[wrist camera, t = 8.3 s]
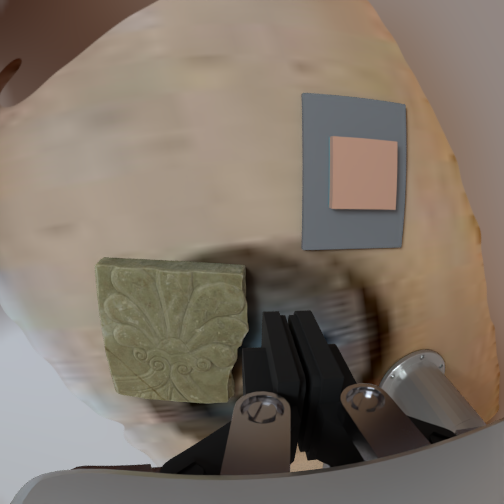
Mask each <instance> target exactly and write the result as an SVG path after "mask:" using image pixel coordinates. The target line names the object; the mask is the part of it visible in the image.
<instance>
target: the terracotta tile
mask: <svg viewBox="0 0 504 504" xmlns="http://www.w3.org/2000/svg"><path fill="white" fill-rule="evenodd" d="M396 192H397V142H396V141H386V140H376V139H365V138H353V137H339V136H331V137H329V204H328V207H329V208H331V209H383V210H396Z"/></svg>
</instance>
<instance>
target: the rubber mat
mask: <svg viewBox="0 0 504 504" xmlns="http://www.w3.org/2000/svg"><path fill="white" fill-rule="evenodd" d="M331 136H339V137H353V138H365V139H376V140H386V141H396V142H397V192H396V210H383V209H331V208H329V207H328V204H329V137H331ZM302 140H303V198H302V250H325V249H360V248H395V247H401V244H402V233H403V221H404V207H405V188H406V109H405V104H399V103H393V102H387V101H380V100H373V99H365V98H357V97H348V96H338V95H326V94H312V93H302Z"/></svg>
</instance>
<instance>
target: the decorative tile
mask: <svg viewBox="0 0 504 504" xmlns="http://www.w3.org/2000/svg"><path fill="white" fill-rule="evenodd" d="M245 276H246V270H245V266H244V265H235V264H220V263H204V262H188V261H166V260H147V259H125V258H106V257H104V258H102V259H101V260H100V261H99V262H98V263H97V264H96V265H95V277H96V288H97V298H98V307H99V315H100V322H101V328H102V334H103V339H104V345H105V351H106V356H107V360H108V364H109V368H110V372H111V376H112V380H113V383H114V387H115V390H116V392H117V393H118V394H121V395H127V396H134V397H139V398H144V399H158V400H171V401H180V402H196V403H218V402H228V400H229V398H230V397H233V396H234V386H235V384H234V380H233V375H232V373H231V371H232V368H233V366H234V364H235V362H236V360H237V356H238V355H237V353H238V348H239V347H240V346H241V345H242V342H243V338H244V337H245V335H246V334H247V332H248V330H249V326H248V322H247V301H246V281H245V280H246V279H245Z"/></svg>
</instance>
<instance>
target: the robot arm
mask: <svg viewBox="0 0 504 504" xmlns="http://www.w3.org/2000/svg"><path fill="white" fill-rule="evenodd" d="M444 373H445V363H444V361H443V358H442V357H441V356H440V355H439V354H438V353H436V352H435V351H432V350H419V351H416V352H413V353H411V354H409V355H407V356H405V357H404V358H402V359H400V360H399V361H398V362H397V363H395V364H394V365H393V366H392V367H391V368H390V369H389V370H388V372H387V373H386V374H385V376H384V377H383V379H382V381H381V383H380V385H379V387H378V386H375V385H372V384H364V383H360V384H357V383H356V381H355V379H354V378H353V376H352V374H351V372H350V370H349V368H348V366H347V364H346V362H345V361H344V359H343V357H342V355H341V353H340V351H339V349H338V347H337V346H336V345H335V344H327V342H326V340H325V338H324V336H323V334H322V332H321V330H320V328H319V326H318V324H317V322H316V320H315V318H314V316H313V314H312V312H311V311H295V312H294V315H289V318H288V323H287V320H286V317H285V315H280V313H279V311H276V312H263V317H262V346H261V348H243V349H242V378H243V396H242V397H241V398H240V399H239V400H238V401H237V402H236V404H235V406H234V411H233V416H232V421H230V422H229V423H227V424H226V425H224V426H223V427H221V428H220V429H218V430H217V431H215V432H214V433H212V434H211V435H209V436H208V437H206V438H204V439H203V440H201V441H200V442H198V443H196V444H195V445H193V446H192V447H190V448H188V449H187V450H185V451H184V452H182V453H180V454H179V455H177V456H175V457H173V458H172V459H170V460H169V461H167V462H166V463H165V464H164V465H163V466H162V467H153V468H152V467H151V465H150V464H144V465H121V466H79V467H76V468H74V469H71V470H62V471H55V472H50V473H46V474H42V475H39V476H37V477H35V478H33V479H31V480H30V481H29V482H27V483H26V484H25V485H24V486H23V487H22V488H21V489H20V490H19V492H18V493H17V494H16V495H15V497H14V499H13V500H12V502H11V503H10V504H504V418H502V419H499V420H497V421H494V422H492V423H490V424H487V425H486V423H485V422H484V421H483V420H482V419H481V417H480V416H479V415H478V414H477V413H476V411H475V410H474V409H473V408H472V407H471V405H470V404H469V403H468V402H467V401H466V400H465V398H464V397H463V396H462V395H461V394H460V392H459V391H458V390H457V389H456V388H455V387H454V385H453V384H452V383H451V382H450V381H449V380H448V379H447V377H446V376H445V375H444ZM297 443H298V446H299V450H300V452H306V456H307V460H316V459H317V460H319V461H321V462H323V469H315V470H307V471H298V472H290V464H291V463H292V462H293V461H294V458H295V453H296V448H297Z"/></svg>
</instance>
